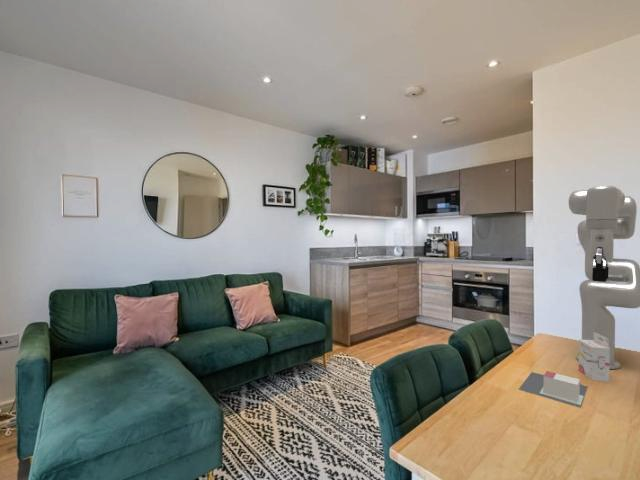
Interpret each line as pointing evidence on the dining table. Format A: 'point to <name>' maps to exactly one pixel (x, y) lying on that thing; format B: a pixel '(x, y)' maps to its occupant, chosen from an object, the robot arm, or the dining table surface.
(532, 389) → the mat
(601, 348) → the ink cartridge box
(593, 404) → the dining table surface
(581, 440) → the dining table surface
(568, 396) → the card deck case
